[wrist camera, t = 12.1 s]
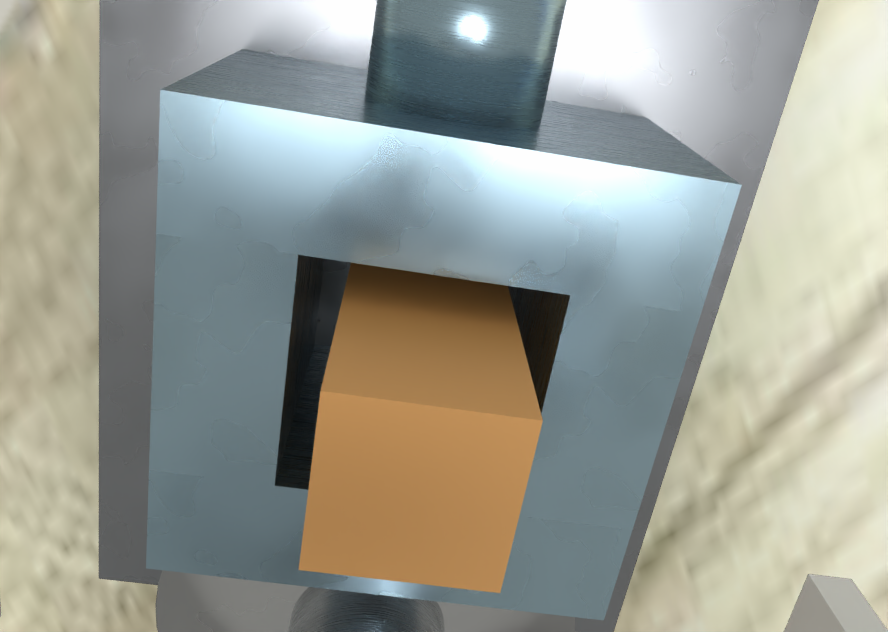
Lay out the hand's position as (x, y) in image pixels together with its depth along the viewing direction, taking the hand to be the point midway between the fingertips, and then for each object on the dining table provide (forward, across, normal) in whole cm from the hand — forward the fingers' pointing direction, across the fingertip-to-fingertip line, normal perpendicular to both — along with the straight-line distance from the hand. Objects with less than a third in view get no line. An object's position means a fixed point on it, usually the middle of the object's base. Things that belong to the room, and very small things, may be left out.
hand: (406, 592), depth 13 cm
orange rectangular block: (+14, 0, 0) cm, 14 cm away
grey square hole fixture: (+16, 0, +3) cm, 16 cm away
